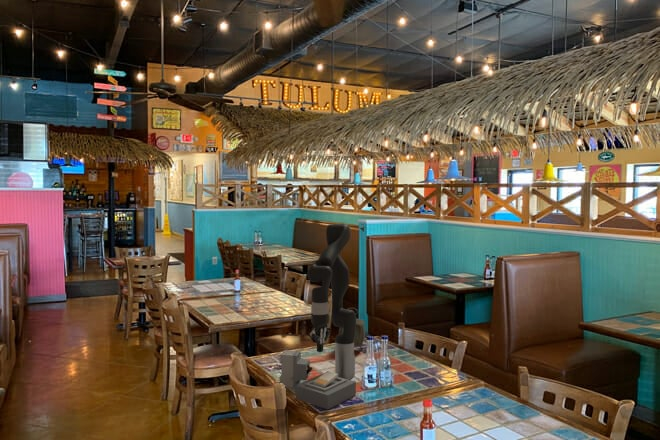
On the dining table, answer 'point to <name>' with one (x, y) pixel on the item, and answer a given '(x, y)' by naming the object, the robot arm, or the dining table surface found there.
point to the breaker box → (326, 392)
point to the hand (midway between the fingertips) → (320, 351)
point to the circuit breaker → (293, 368)
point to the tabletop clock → (357, 331)
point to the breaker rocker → (325, 379)
